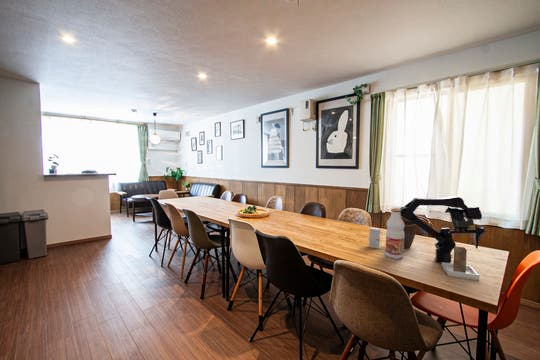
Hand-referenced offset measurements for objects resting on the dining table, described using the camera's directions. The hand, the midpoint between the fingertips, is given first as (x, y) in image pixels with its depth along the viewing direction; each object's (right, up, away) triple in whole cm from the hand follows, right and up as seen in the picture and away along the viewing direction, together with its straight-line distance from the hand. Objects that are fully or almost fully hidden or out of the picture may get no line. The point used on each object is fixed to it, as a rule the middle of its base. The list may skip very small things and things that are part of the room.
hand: (465, 248), depth 126 cm
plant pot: (-10, -9, +39) cm, 41 cm away
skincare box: (-30, -10, +37) cm, 49 cm away
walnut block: (-5, -11, -3) cm, 12 cm away
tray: (-5, -12, -3) cm, 13 cm away
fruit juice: (-26, -10, +20) cm, 34 cm away
